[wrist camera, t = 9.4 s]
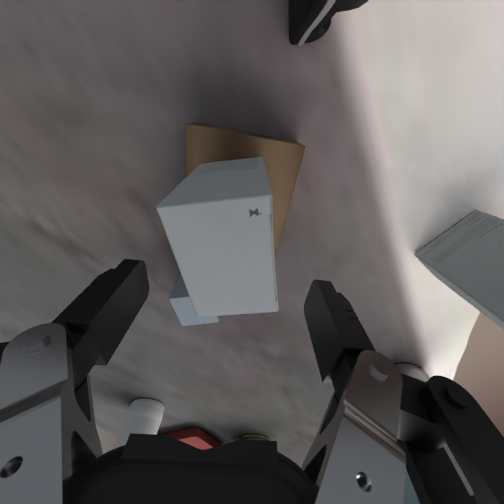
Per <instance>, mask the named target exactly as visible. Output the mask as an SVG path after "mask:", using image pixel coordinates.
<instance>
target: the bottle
mask: <svg viewBox="0 0 504 504" xmlns="http://www.w3.org/2000/svg"><path fill="white" fill-rule="evenodd" d="M163 412H164V405H163V404H162V403H160V402H159V401H156V400H153V399H147V398H144V399H137V400H135V401H133V402H132V403H131V406H130V408H129V410H128V412H127V414H126V416H125V419H124V422H123V425H122V427H121V429H120V432H119V434H118V437H117V439H116V441H115V444H114V446H113V448H112V450H113V449H115V448H118V447H120V446H123V445H126V443H127V440H128V437H129V435H130V433H136V434H155V435H157V432H158V429H159V425H160V423H161V420H162V417H163Z"/></svg>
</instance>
